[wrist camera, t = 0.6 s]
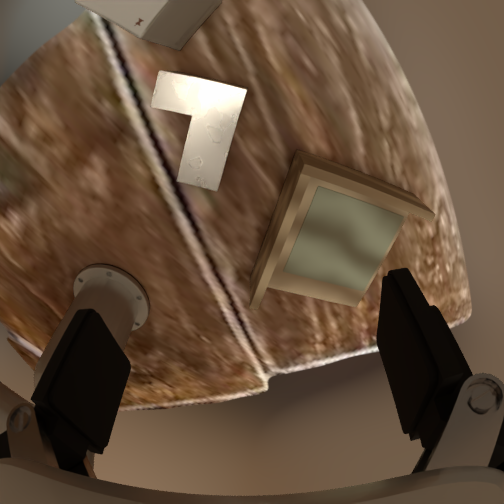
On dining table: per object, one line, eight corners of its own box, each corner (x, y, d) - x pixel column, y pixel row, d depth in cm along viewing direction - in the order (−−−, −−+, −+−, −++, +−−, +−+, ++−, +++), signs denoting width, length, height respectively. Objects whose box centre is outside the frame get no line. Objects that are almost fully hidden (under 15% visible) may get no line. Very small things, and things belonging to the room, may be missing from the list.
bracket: (222, 172, 35) (217, 191, 30) (155, 156, 34) (138, 171, 29) (248, 87, 30) (246, 89, 25) (175, 71, 29) (159, 70, 24)
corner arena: (354, 302, 45) (365, 331, 40) (249, 278, 42) (249, 308, 37) (413, 194, 36) (435, 214, 30) (296, 149, 33) (304, 163, 28)
